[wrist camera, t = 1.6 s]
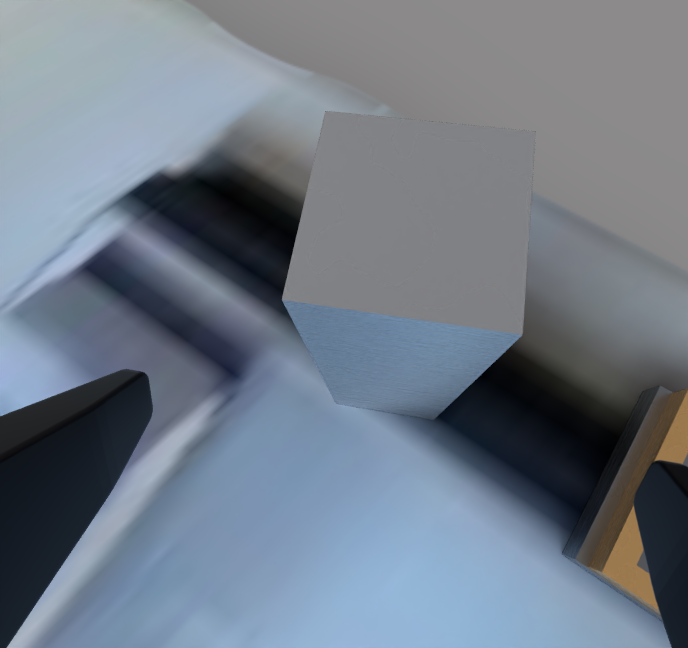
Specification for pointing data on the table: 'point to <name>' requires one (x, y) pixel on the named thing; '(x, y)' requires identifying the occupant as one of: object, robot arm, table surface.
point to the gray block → (411, 258)
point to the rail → (630, 496)
